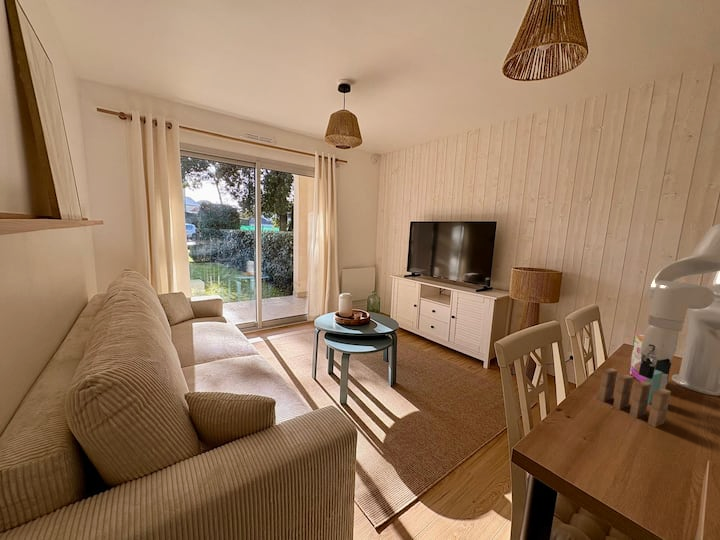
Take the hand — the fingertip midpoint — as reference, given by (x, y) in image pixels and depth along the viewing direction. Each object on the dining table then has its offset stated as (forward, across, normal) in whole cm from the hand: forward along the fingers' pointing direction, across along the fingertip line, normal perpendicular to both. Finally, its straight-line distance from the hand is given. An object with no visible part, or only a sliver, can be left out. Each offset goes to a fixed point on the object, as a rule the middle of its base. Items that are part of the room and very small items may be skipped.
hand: (653, 374), depth 92 cm
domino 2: (+10, +12, -2) cm, 15 cm away
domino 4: (+10, +12, +7) cm, 17 cm away
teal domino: (+9, -1, 0) cm, 9 cm away
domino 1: (+10, +12, -6) cm, 16 cm away
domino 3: (+10, +12, +3) cm, 16 cm away
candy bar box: (+9, -15, -7) cm, 19 cm away
